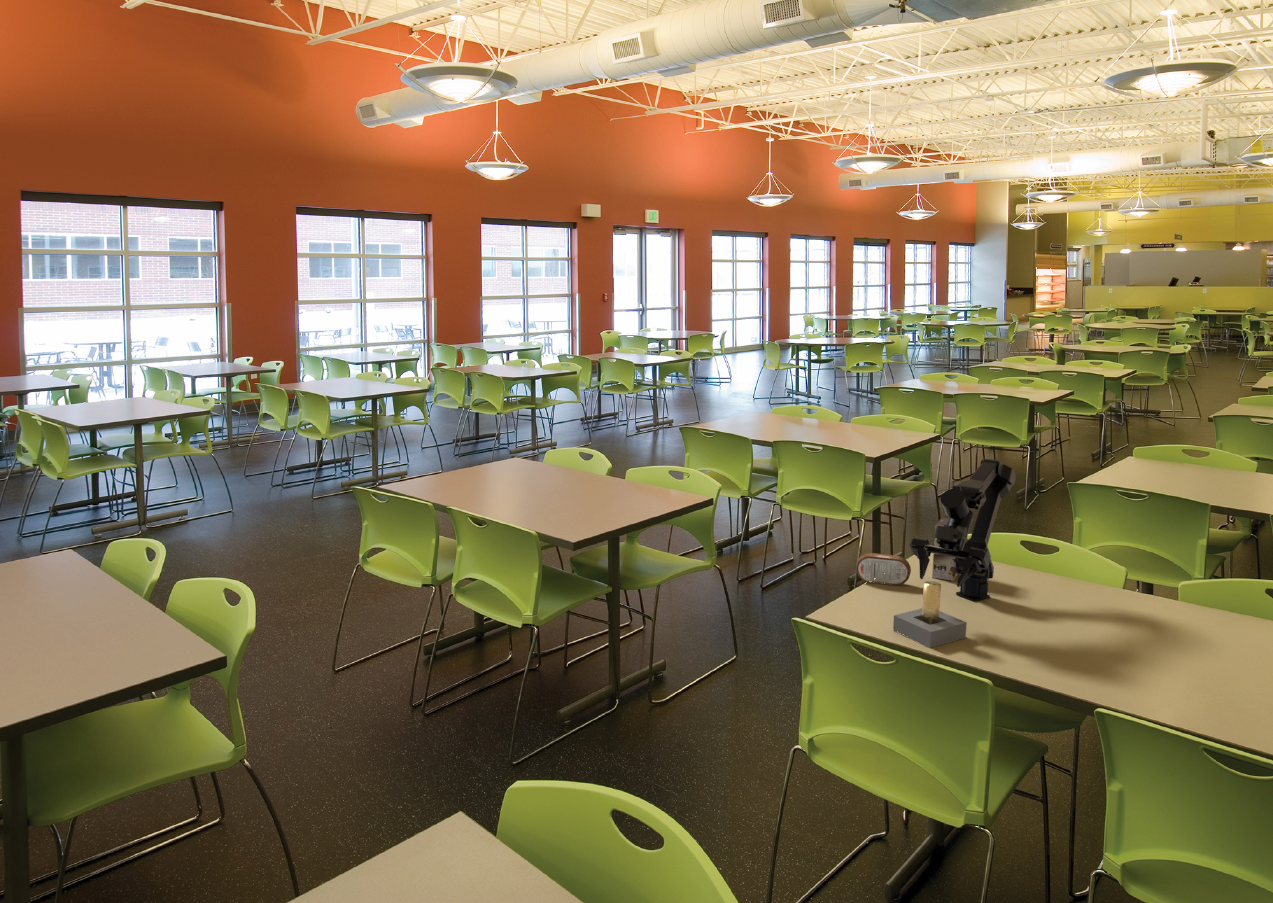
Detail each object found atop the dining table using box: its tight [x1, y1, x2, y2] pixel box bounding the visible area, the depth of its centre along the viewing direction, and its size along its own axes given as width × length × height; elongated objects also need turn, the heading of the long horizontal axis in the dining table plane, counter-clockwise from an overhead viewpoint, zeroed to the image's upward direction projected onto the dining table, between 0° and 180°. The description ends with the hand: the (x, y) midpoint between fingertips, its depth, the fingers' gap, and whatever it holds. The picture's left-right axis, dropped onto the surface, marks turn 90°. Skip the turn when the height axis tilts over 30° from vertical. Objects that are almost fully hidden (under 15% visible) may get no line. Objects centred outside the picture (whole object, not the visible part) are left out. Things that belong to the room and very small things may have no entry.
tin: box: [855, 552, 912, 586], centre depth 259 cm, size 15×3×8 cm, turn 71°
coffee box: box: [931, 517, 959, 582], centre depth 265 cm, size 9×6×16 cm
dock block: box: [892, 608, 968, 649], centre depth 224 cm, size 12×12×4 cm
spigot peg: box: [922, 580, 942, 625], centre depth 223 cm, size 4×4×13 cm
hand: (939, 582), depth 225 cm, fingers open, 9 cm apart
